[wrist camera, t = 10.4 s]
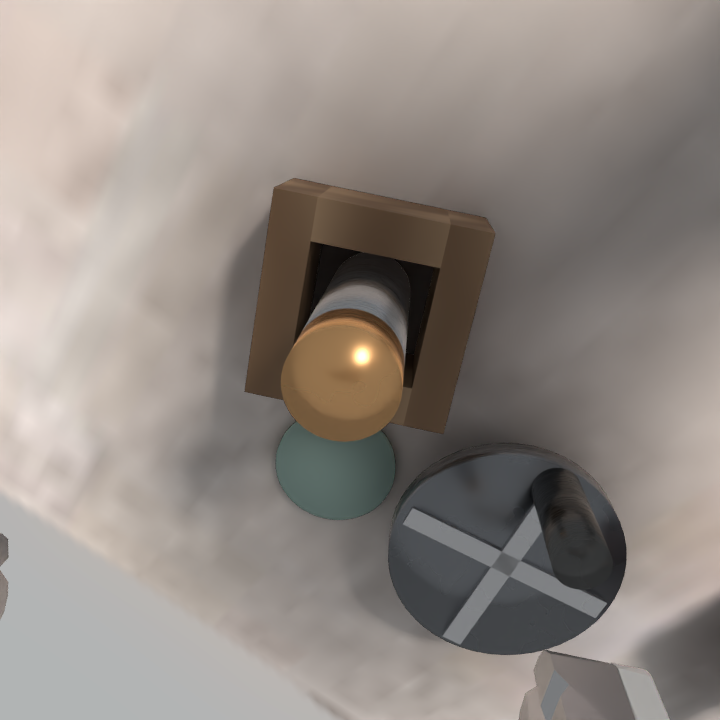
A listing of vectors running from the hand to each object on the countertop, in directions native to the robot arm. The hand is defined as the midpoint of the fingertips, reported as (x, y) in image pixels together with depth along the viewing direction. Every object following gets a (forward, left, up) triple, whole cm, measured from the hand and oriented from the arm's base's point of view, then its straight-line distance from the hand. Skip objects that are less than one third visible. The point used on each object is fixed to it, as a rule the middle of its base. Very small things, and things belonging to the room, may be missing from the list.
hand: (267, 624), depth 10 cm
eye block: (0, 0, -20) cm, 20 cm away
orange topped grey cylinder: (0, 0, -20) cm, 20 cm away
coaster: (0, +8, -20) cm, 22 cm away
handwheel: (-8, +9, -18) cm, 22 cm away
